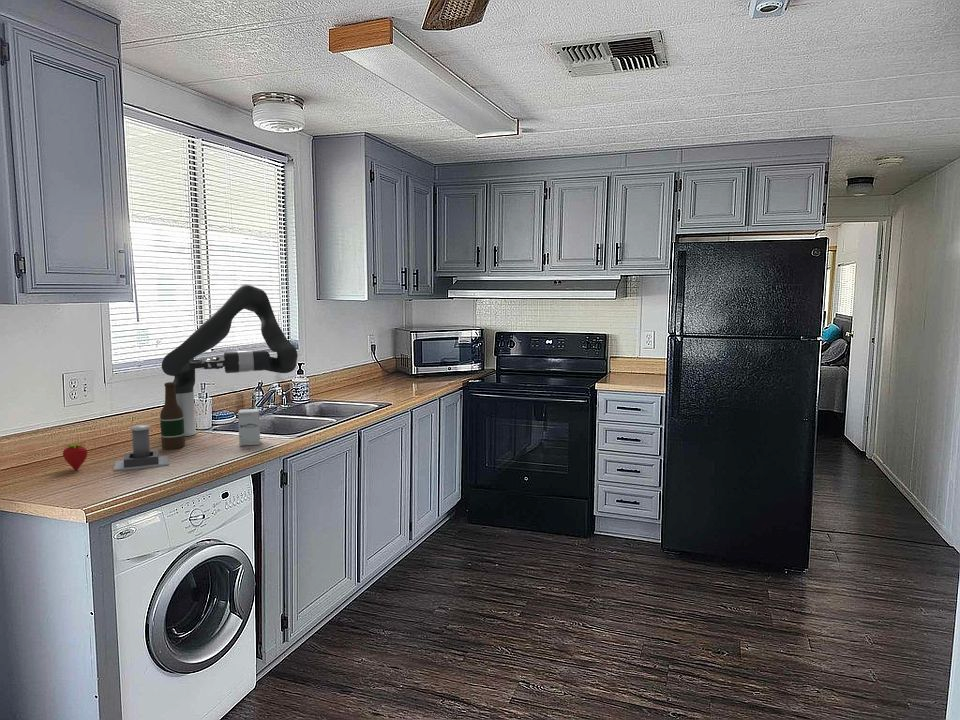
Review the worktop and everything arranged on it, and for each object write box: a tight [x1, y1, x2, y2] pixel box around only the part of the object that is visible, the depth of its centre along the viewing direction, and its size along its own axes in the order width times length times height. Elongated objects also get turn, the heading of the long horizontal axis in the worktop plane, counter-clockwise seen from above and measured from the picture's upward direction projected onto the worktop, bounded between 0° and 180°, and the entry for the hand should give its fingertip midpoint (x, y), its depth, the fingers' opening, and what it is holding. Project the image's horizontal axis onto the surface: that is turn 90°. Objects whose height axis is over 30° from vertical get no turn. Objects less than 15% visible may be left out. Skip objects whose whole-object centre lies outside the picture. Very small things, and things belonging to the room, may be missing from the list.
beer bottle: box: [159, 381, 186, 451], centre depth 248 cm, size 8×8×24 cm
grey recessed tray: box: [112, 450, 170, 472], centre depth 224 cm, size 12×16×3 cm
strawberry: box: [62, 438, 88, 470], centre depth 218 cm, size 6×8×10 cm
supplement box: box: [237, 408, 261, 447], centre depth 253 cm, size 7×7×13 cm
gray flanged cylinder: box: [130, 424, 151, 458], centre depth 224 cm, size 6×6×12 cm
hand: (188, 364), depth 231 cm, fingers open, 8 cm apart
